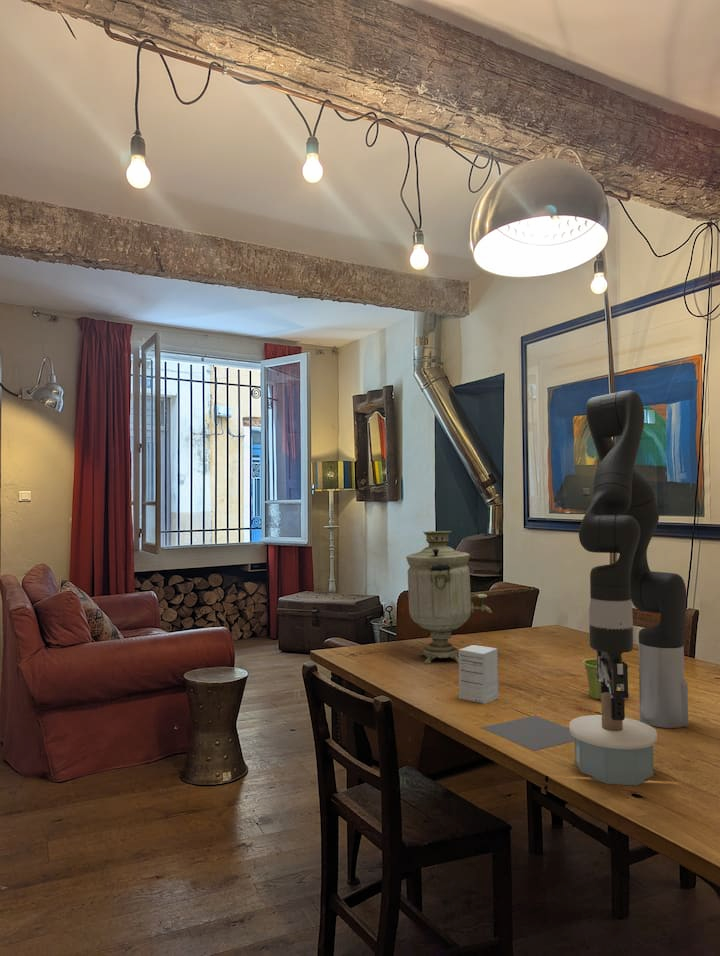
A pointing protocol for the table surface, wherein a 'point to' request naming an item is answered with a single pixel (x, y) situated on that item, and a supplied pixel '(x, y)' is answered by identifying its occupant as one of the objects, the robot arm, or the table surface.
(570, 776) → the table surface
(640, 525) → the robot arm
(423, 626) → the samovar
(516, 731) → the mat
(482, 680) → the supplement box
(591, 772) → the bowl
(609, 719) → the lid
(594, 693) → the plant pot
